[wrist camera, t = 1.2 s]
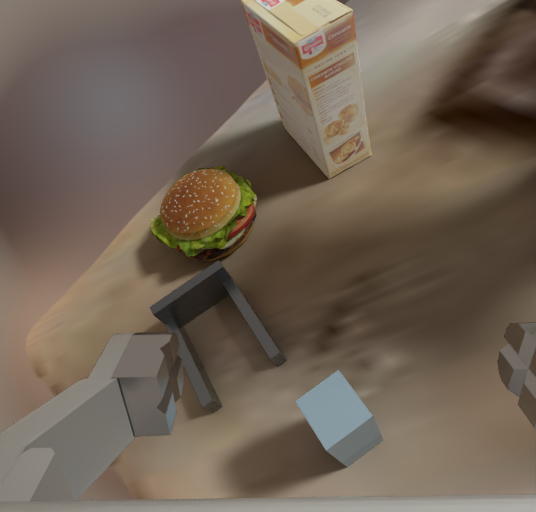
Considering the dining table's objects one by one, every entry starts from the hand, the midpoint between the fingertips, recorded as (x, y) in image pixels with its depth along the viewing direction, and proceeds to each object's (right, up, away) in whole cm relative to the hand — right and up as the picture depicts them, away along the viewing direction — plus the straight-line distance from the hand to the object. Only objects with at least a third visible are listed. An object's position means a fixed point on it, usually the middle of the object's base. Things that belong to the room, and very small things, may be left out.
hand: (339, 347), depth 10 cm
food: (-9, +6, +47) cm, 48 cm away
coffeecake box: (+7, +19, +49) cm, 53 cm away
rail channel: (-6, -8, +35) cm, 37 cm away
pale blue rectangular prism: (+6, -14, +27) cm, 31 cm away
